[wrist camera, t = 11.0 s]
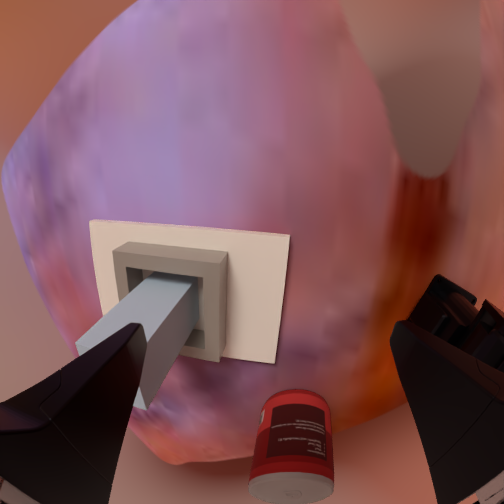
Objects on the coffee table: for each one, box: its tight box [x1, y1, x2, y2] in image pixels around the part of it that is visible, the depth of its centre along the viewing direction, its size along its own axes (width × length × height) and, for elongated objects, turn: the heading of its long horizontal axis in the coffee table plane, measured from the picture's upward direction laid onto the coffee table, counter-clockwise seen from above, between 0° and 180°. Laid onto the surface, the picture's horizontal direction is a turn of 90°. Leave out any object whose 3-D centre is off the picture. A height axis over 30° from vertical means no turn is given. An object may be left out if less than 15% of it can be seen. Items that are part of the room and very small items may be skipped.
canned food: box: [248, 389, 334, 504], centre depth 22 cm, size 8×8×11 cm
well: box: [89, 219, 290, 363], centre depth 23 cm, size 18×12×3 cm, turn 86°
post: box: [75, 271, 199, 410], centre depth 18 cm, size 4×4×11 cm
